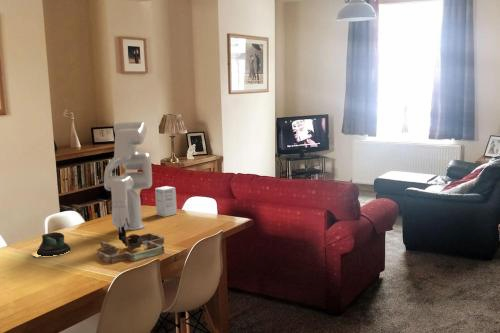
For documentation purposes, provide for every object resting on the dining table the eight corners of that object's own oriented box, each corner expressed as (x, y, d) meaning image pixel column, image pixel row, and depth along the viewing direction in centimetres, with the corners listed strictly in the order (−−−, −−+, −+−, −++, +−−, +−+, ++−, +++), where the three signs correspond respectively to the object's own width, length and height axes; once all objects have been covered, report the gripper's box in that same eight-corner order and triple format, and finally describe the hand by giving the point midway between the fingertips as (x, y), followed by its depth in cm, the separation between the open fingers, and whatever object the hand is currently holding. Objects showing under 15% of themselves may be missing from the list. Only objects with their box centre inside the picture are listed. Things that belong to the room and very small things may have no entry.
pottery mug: (147, 246, 260) (146, 235, 254) (138, 259, 253) (137, 248, 247) (125, 239, 262) (124, 228, 257) (116, 252, 255) (114, 241, 250)
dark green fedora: (83, 250, 256) (82, 231, 255) (49, 261, 240) (47, 242, 239) (58, 244, 267) (56, 226, 266) (23, 255, 251) (21, 236, 249)
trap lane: (84, 251, 252) (84, 245, 252) (146, 236, 276) (145, 230, 275) (115, 266, 231) (114, 260, 230) (179, 248, 254) (178, 242, 253)
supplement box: (177, 214, 322) (176, 187, 319) (165, 216, 315) (164, 189, 313) (167, 211, 329) (166, 185, 326) (156, 214, 322) (154, 188, 319)
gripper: (105, 202, 259) (108, 238, 262) (120, 207, 248) (123, 244, 251) (119, 200, 264) (121, 234, 267) (134, 204, 253) (136, 240, 256)
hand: (122, 239), depth 259 cm, fingers closed
